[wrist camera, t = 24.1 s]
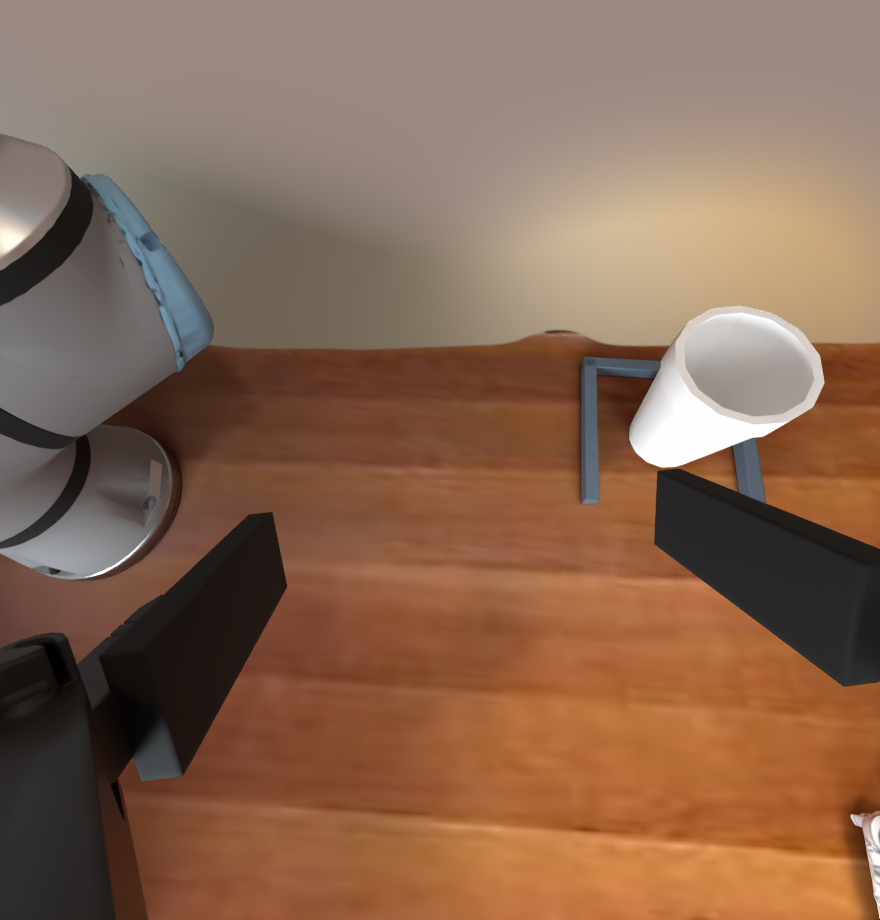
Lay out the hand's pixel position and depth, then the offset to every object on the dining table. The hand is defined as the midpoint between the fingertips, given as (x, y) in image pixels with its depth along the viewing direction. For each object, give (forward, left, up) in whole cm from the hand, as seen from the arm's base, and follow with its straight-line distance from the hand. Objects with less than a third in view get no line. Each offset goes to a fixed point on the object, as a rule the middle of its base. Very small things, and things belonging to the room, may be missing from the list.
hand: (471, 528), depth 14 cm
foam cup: (+2, +23, -24) cm, 34 cm away
